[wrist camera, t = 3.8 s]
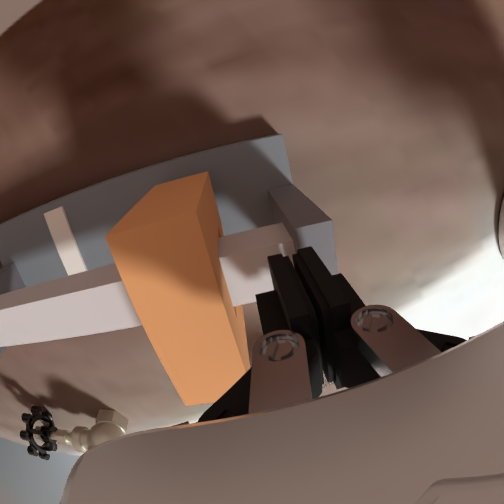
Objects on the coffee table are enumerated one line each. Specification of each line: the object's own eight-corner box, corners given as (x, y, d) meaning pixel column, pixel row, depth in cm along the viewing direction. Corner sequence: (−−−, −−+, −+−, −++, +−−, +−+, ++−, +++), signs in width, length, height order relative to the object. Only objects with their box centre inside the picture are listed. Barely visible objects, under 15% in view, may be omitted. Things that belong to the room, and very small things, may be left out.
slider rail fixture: (278, 133, 18) (320, 141, 10) (304, 276, 22) (343, 354, 14) (-1, 224, 18) (-70, 271, 10) (48, 329, 22) (6, 397, 14)
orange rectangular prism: (207, 171, 16) (195, 211, 9) (241, 297, 19) (253, 394, 12) (155, 185, 16) (104, 236, 9) (195, 307, 19) (186, 406, 12)
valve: (118, 399, 26) (31, 394, 26) (104, 452, 20) (11, 436, 19) (141, 435, 29) (58, 428, 28) (133, 483, 23) (44, 468, 22)
